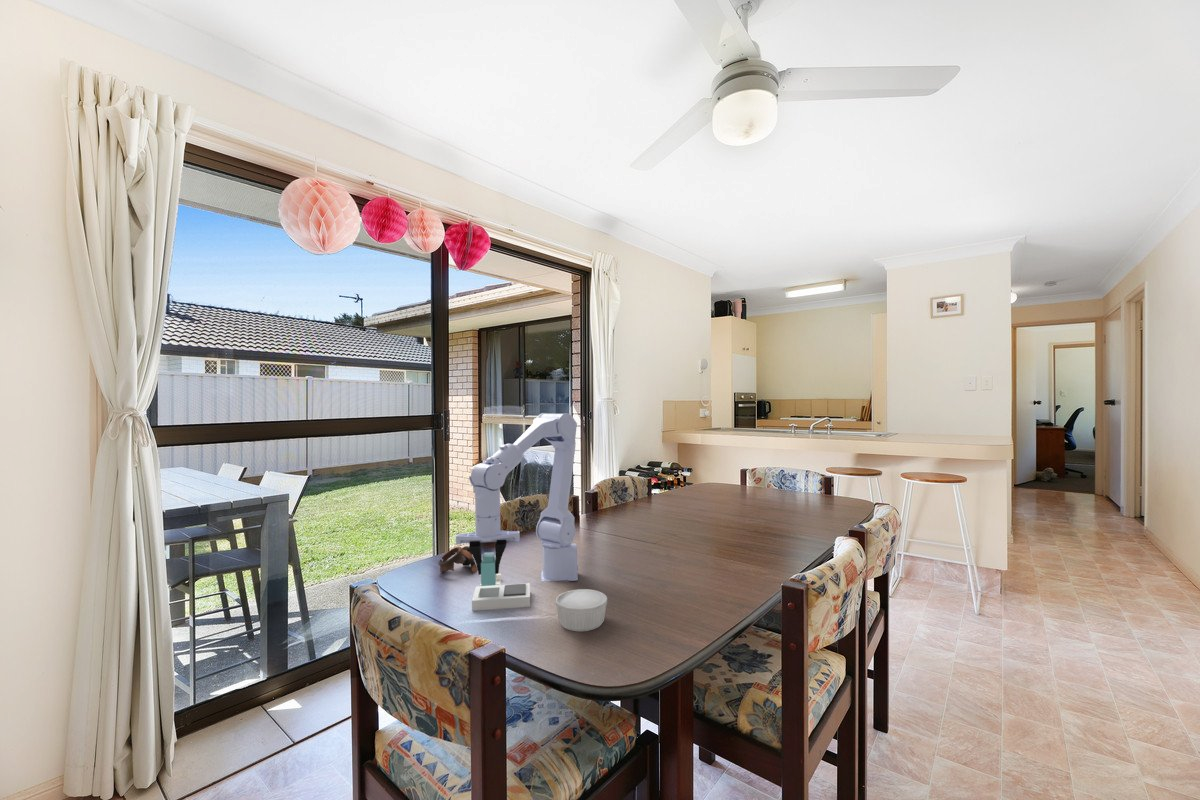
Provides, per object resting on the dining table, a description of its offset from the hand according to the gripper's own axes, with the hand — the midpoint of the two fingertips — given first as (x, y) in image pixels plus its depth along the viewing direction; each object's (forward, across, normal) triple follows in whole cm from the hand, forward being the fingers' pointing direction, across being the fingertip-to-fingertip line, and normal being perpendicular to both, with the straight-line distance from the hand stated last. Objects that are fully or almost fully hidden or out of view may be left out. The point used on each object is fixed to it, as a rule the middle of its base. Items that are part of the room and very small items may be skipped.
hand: (488, 572), depth 119 cm
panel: (+7, +3, 0) cm, 8 cm away
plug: (+2, 0, 0) cm, 2 cm away
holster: (+7, 0, +11) cm, 13 cm away
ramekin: (+8, +20, -13) cm, 25 cm away
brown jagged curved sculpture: (+8, -10, +24) cm, 27 cm away
